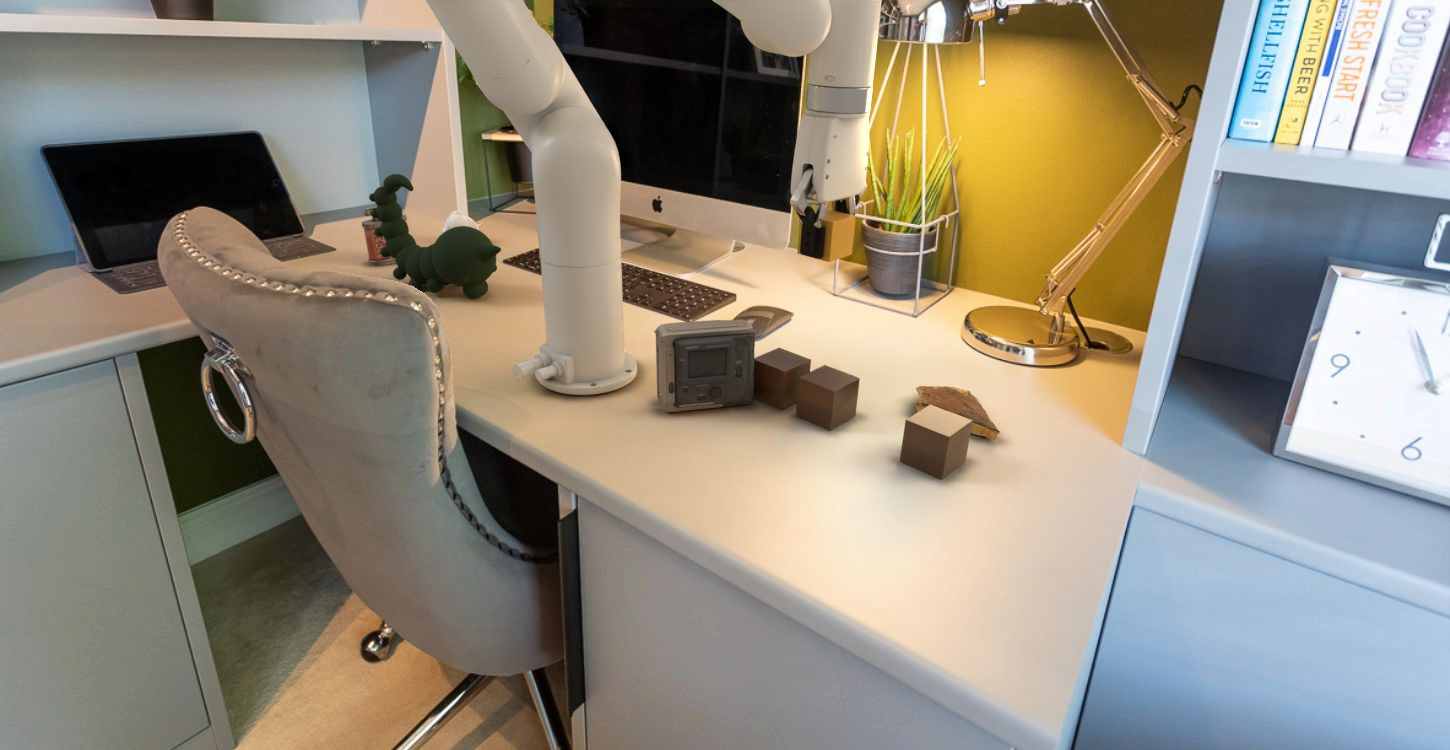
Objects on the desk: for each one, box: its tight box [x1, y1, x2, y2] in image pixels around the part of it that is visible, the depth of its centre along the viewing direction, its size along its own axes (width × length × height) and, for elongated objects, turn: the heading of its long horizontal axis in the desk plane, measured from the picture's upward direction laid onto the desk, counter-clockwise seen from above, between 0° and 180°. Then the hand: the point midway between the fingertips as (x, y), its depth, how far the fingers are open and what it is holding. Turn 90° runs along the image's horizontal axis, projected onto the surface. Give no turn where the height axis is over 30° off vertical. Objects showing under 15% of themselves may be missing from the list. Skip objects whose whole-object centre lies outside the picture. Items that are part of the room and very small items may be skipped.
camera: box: [653, 319, 756, 413], centre depth 91 cm, size 11×6×10 cm, turn 102°
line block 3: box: [899, 405, 973, 480], centre depth 82 cm, size 5×5×5 cm
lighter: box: [361, 205, 408, 267], centre depth 138 cm, size 8×3×10 cm, turn 144°
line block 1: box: [753, 347, 812, 411], centre depth 94 cm, size 5×5×5 cm
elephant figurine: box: [441, 209, 484, 234], centre depth 150 cm, size 7×8×6 cm
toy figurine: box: [368, 173, 502, 300], centre depth 123 cm, size 9×19×25 cm
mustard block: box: [797, 208, 857, 263], centre depth 99 cm, size 5×5×5 cm
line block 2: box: [795, 364, 861, 431], centre depth 90 cm, size 5×5×5 cm
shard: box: [915, 385, 1001, 440], centre depth 91 cm, size 11×8×2 cm
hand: (824, 250), depth 99 cm, fingers closed on mustard block, 5 cm apart
